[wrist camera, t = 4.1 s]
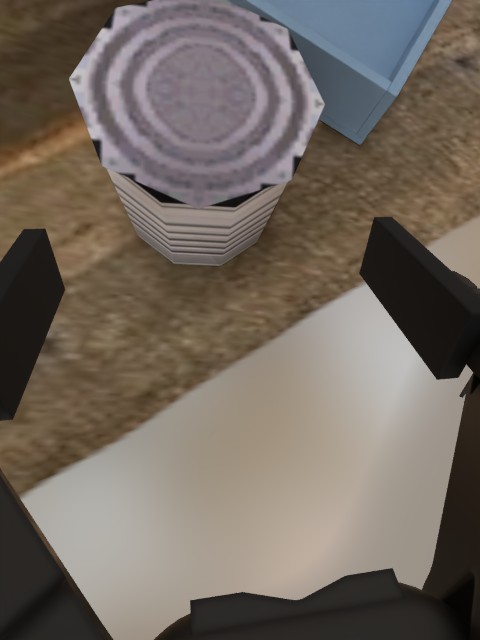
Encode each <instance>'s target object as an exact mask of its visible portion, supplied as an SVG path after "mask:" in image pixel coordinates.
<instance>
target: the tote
mask: <svg viewBox="0 0 480 640" xmlns="http://www.w3.org/2000/svg"><path fill="white" fill-rule="evenodd" d="M227 1H229V2H231V3H233V4H236V5H239V6H241V7H242V8H244V9H246V10H248V11H251V12H253V13H255V14H257V15H259V16H261V17H263V18H265V19H268V20H270V21H272V22H274V23H276V24H278V25H280V26H283V27H285V28H287V29H288V30H289V32H290V34H291V36H292V38H293V40H294V42H295V44H296V46H297V48H298V50H299V52H300V54H301V57H302V59H303V61H304V63H305V65H306V67H307V69H308V71H309V73H310V75H311V77H312V79H313V81H314V83H315V85H316V87H317V89H318V91H319V93H320V96H321V98H322V100H323V102H324V104H325V105H324V108H323V110H322V112H321V114H320V117H319V120H321V121H322V122H324V123H325V124H327V125H329V126H330V127H332V128H333V129H335V130H337V131H338V132H340V133H341V134H343V135H344V136H346V137H348V138H349V139H351V140H352V141H354V142H356V143H357V144H359V145H361V143H362V142H363V141H364V139H365V138H366V137H367V136H368V134H369V133H370V132H371V130H372V129H373V128H374V126H375V125H376V124H377V122H378V121H379V120H380V118H381V117H382V116H383V115H384V113H385V112H386V111H387V109H388V108H389V107H390V105H391V104H392V103H393V101H394V100H395V99H396V97H397V96H398V94H399V92H400V91H401V89H402V87H403V85H404V84H405V82H406V80H407V78H408V77H409V75H410V73H411V71H412V70H413V68H414V66H415V65H416V63H417V61H418V59H419V58H420V56H421V54H422V52H423V51H424V49H425V47H426V45H427V44H428V42H429V40H430V38H431V37H432V35H433V33H434V31H435V30H436V28H437V26H438V24H439V23H440V21H441V19H442V17H443V16H444V14H445V12H446V10H447V9H448V7H449V5H450V3H451V2H452V0H227Z"/></svg>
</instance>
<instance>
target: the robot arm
mask: <svg viewBox="0 0 480 640" xmlns="http://www.w3.org/2000/svg"><path fill="white" fill-rule="evenodd" d="M359 274H360V275H361V276H362V278H363V279H364V280H365V282H366V283H367V285H368V286H369V287H370V289H371V290H372V291H373V293H374V294H375V295H376V297H377V298H378V300H379V301H380V302H381V304H382V305H383V306H384V308H385V309H386V310H387V312H388V313H389V315H390V316H391V317H392V319H393V320H394V321H395V323H396V324H397V326H398V327H399V328H400V330H401V331H402V332H403V334H404V335H405V336H406V338H407V339H408V341H409V342H410V343H411V345H412V346H413V347H414V349H415V350H416V352H417V353H418V354H419V356H420V357H421V358H422V359H423V361H424V362H425V363H426V365H427V366H428V368H429V369H430V371H431V372H432V373H433V375H434V376H435V377H436V379H438V380H439V379H449V378H458V377H459V376H460V374H461V372H462V371H463V369H464V367H465V365H466V364H467V366H468V367H469V368H470V369H471V370H472V371H473V374H472V376H471V378H470V380H469V381H468V383H467V384H466V386H465V387H464V389H463V391H462V392H461V394H460V397H463V396H464V395H465V394H466V396H465V401H464V407H463V412H462V417H461V422H460V427H459V432H458V437H457V442H456V447H455V453H454V457H453V463H452V468H451V473H450V479H449V484H448V488H447V493H446V498H445V503H444V508H443V514H442V519H441V524H440V529H439V534H438V539H437V544H436V550H435V554H434V560H433V564H432V567H431V570H430V573H429V575H428V577H427V579H426V581H425V583H424V586H423V588H422V590H420V589H418V588H416V587H413V586H410V585H406V584H403V583H399V582H398V581H397V578H396V576H395V573H394V571H393V569H392V568H391V569H385V570H379V571H372V572H366V573H360V574H354V575H347V576H344V577H342V578H340V579H339V580H337V581H335V582H333V583H331V584H329V585H328V586H326V587H324V588H322V589H320V590H318V591H316V592H314V593H312V594H311V595H309V596H307V597H305V598H303V599H300V600H289V599H283V598H276V597H270V596H264V595H257V594H251V593H245V592H241V593H235V594H229V595H222V596H215V597H210V598H203V599H197V600H191V601H190V605H191V613H190V614H188V615H186V616H184V617H183V618H180V619H179V620H177V621H176V622H175V623H173V624H171V625H170V626H169V627H167V628H166V629H165V630H164V631H163V632H162V633H161V634H159V635H158V636H157V637H156V638H155V639H154V640H480V289H477V286H476V285H475V284H474V283H472V282H471V281H470V280H469V279H468V278H466V277H464V276H462V275H460V274H458V273H457V272H455V271H451V270H450V269H449V268H447V267H446V266H445V265H444V264H443V263H442V262H441V261H440V260H439V259H437V258H436V257H435V256H434V255H433V254H432V253H431V252H430V251H429V250H428V249H426V248H425V247H424V246H423V245H422V244H421V243H420V242H419V241H418V240H417V239H415V238H414V237H413V236H412V235H411V234H410V233H409V232H408V231H407V230H406V229H404V228H403V227H402V226H401V225H400V224H399V223H398V222H397V221H396V220H394V219H393V218H392V217H374V220H373V224H372V228H371V232H370V236H369V239H368V243H367V247H366V251H365V254H364V258H363V262H362V266H361V269H360V273H359ZM64 291H65V288H64V285H63V282H62V278H61V275H60V272H59V269H58V266H57V263H56V260H55V257H54V254H53V251H52V248H51V245H50V242H49V238H48V235H47V232H46V229H24V230H23V231H22V232H21V234H20V235H19V237H18V238H17V239H16V241H15V242H14V244H13V245H12V247H11V248H10V249H9V251H8V252H7V254H6V255H5V256H4V258H3V259H2V261H1V262H0V421H1V420H12V419H13V418H14V415H15V413H16V410H17V408H18V405H19V403H20V400H21V398H22V395H23V393H24V390H25V388H26V385H27V383H28V380H29V378H30V375H31V373H32V370H33V368H34V365H35V363H36V360H37V358H38V356H39V353H40V351H41V348H42V346H43V343H44V341H45V338H46V336H47V333H48V331H49V328H50V326H51V323H52V321H53V318H54V316H55V313H56V311H57V308H58V306H59V303H60V301H61V298H62V296H63V293H64ZM0 640H113V639H112V637H111V636H110V634H109V633H108V631H107V630H106V628H105V627H104V626H103V624H102V623H101V621H100V620H99V618H98V617H97V615H96V614H95V612H94V611H93V609H92V608H91V606H90V605H89V603H88V601H87V600H86V598H85V597H84V595H83V594H82V592H81V591H80V589H79V588H78V587H77V585H76V583H75V582H74V580H73V579H72V577H71V576H70V574H69V573H68V571H67V569H66V568H65V567H64V565H63V563H62V562H61V560H60V559H59V557H58V556H57V554H56V553H55V551H54V550H53V548H52V547H51V546H50V544H49V542H48V541H47V539H46V537H45V536H44V534H43V533H42V531H41V530H40V528H39V527H38V525H37V524H36V522H35V521H34V519H33V518H32V516H31V515H30V513H29V512H28V510H27V509H26V507H25V506H24V504H23V503H22V501H21V499H20V498H19V496H18V495H17V493H16V492H15V490H14V489H13V487H12V486H11V484H10V483H9V481H8V480H7V478H6V477H5V475H4V474H3V472H2V470H1V469H0Z"/></svg>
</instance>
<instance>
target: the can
mask: <svg viewBox="0 0 480 640" xmlns="http://www.w3.org/2000/svg"><path fill="white" fill-rule="evenodd" d="M69 80H70V83H71V85H72V88H73V91H74V93H75V96H76V99H77V101H78V104H79V107H80V109H81V112H82V115H83V117H84V120H85V123H86V125H87V128H88V131H89V133H90V136H91V139H92V141H93V144H94V147H95V149H96V152H97V155H98V157H99V160H100V163H101V165H102V166H103V167H106V168H107V170H108V173H109V175H110V177H111V179H112V181H113V183H114V186H115V188H116V190H117V192H118V194H119V196H120V199H121V201H122V203H123V205H124V207H125V209H126V211H127V214H128V216H129V218H130V220H131V222H132V224H133V227H134V229H135V231H136V233H137V235H138V236H139V237H140V238H141V239H143V240H144V241H145V242H147V243H148V244H149V245H151V246H152V247H153V248H155V249H156V250H157V251H158V252H160V253H161V254H162V255H164V256H165V257H166V258H168V259H169V260H170V261H171V262H173V263H174V264H190V265H211V266H221V265H223V264H224V263H226V262H227V261H229V260H230V259H232V258H233V257H235V256H236V255H238V254H239V253H241V252H242V251H244V250H245V249H247V248H249V247H250V246H252V245H253V244H255V243H256V242H257V241H258V239H259V237H260V235H261V233H262V231H263V229H264V227H265V225H266V223H267V221H268V219H269V217H270V215H271V213H272V212H273V210H274V208H275V206H276V204H277V202H278V200H279V198H280V196H281V194H282V192H283V190H284V188H285V186H286V184H287V182H288V181H290V180H292V178H293V176H294V174H295V171H296V169H297V167H298V165H299V162H300V160H301V158H302V155H303V153H304V151H305V149H306V146H307V144H308V142H309V140H310V137H311V135H312V133H313V130H314V128H315V126H316V124H317V121H318V119H319V117H320V114H321V112H322V110H323V108H324V105H325V104H324V102H323V100H322V98H321V96H320V93H319V91H318V89H317V87H316V85H315V83H314V81H313V79H312V77H311V75H310V73H309V71H308V69H307V67H306V65H305V63H304V61H303V59H302V57H301V54H300V52H299V50H298V48H297V46H296V44H295V42H294V40H293V38H292V36H291V34H290V32H289V30H288V29H287V28H285V27H283V26H280V25H278V24H276V23H274V22H272V21H270V20H268V19H265V18H263V17H261V16H259V15H257V14H255V13H253V12H251V11H248V10H246V9H244V8H242V7H241V6H239V5H236V4H233V3H231V2H229V1H227V0H154V1H149V2H143V3H138V4H133V5H128V6H123V7H118V8H116V9H115V10H114V12H113V13H112V15H111V16H110V18H109V19H108V21H107V22H106V24H105V25H104V27H103V28H102V30H101V31H100V33H99V34H98V36H97V37H96V39H95V40H94V42H93V43H92V45H91V46H90V48H89V50H88V51H87V53H86V54H85V56H84V57H83V59H82V60H81V62H80V63H79V65H78V66H77V68H76V69H75V71H74V72H73V74H72V75H71V77H70V78H69Z"/></svg>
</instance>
